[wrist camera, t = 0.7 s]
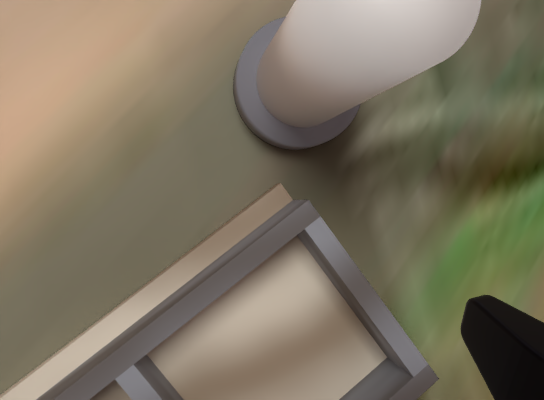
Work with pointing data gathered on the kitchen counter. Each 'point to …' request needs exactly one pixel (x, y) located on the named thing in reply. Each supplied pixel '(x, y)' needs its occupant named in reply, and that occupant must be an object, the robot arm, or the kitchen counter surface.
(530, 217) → the kitchen counter surface
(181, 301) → the grey compartment tray
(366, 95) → the white bulb
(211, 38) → the kitchen counter surface
